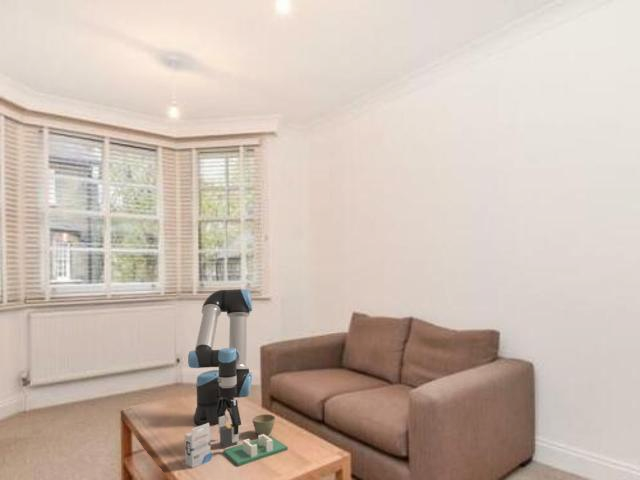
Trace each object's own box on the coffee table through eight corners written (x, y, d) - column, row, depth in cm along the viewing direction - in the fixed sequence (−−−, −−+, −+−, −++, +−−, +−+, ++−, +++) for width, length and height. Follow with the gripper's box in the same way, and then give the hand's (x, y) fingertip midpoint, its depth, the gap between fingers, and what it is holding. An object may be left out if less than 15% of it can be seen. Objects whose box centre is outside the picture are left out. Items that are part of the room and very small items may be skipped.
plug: (220, 445, 183) (219, 426, 183) (233, 441, 186) (233, 422, 187) (224, 448, 180) (223, 429, 180) (237, 444, 183) (236, 425, 183)
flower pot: (271, 439, 187) (271, 422, 187) (249, 438, 189) (249, 421, 189) (278, 430, 197) (277, 414, 197) (257, 429, 199) (257, 413, 199)
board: (223, 453, 175) (223, 440, 175) (270, 438, 188) (270, 426, 188) (238, 466, 164) (238, 452, 164) (287, 449, 177) (287, 436, 177)
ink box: (203, 456, 173) (202, 419, 173) (211, 460, 170) (210, 422, 170) (184, 464, 166) (184, 426, 167) (192, 468, 163) (191, 429, 164)
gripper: (208, 381, 192) (209, 430, 190) (231, 394, 171) (232, 448, 170) (224, 378, 196) (224, 425, 195) (248, 390, 176) (249, 443, 175)
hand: (228, 436), depth 183 cm, fingers open, 13 cm apart
